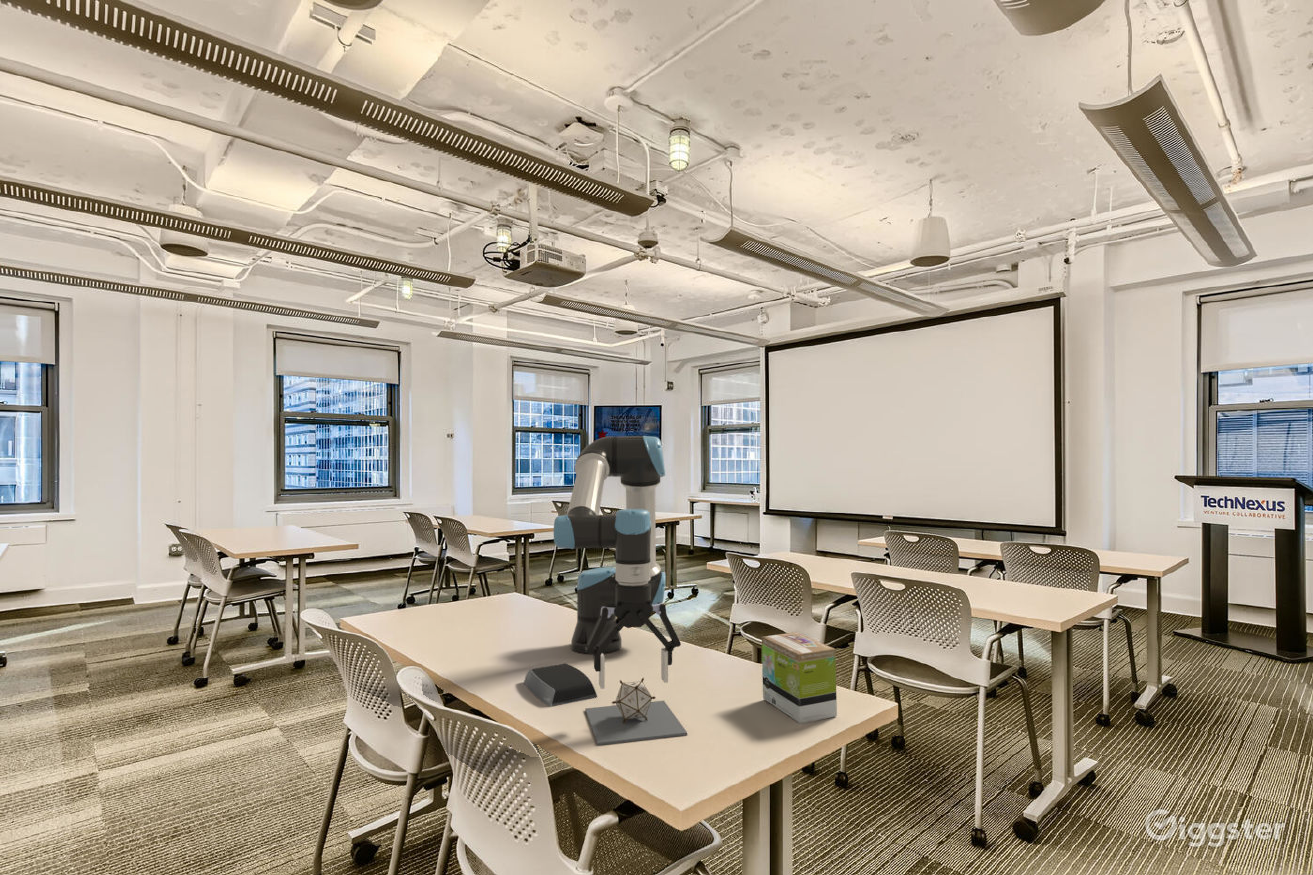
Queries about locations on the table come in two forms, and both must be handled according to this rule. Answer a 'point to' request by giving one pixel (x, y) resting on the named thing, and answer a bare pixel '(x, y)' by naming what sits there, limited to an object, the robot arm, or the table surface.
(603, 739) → the mat
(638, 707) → the game die
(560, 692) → the external hard drive
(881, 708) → the table surface
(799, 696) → the tea box
